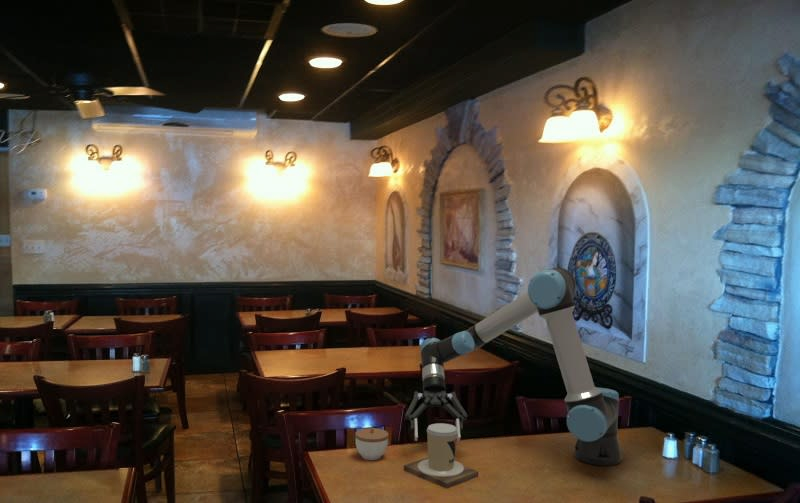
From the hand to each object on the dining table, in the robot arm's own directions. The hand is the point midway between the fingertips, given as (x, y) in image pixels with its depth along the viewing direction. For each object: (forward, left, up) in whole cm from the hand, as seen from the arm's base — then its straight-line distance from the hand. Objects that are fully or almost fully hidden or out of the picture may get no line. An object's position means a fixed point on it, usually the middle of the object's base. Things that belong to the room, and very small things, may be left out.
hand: (437, 439), depth 222 cm
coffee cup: (-7, +6, -5) cm, 11 cm away
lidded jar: (+17, +13, -8) cm, 23 cm away
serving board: (-7, +6, -7) cm, 12 cm away
